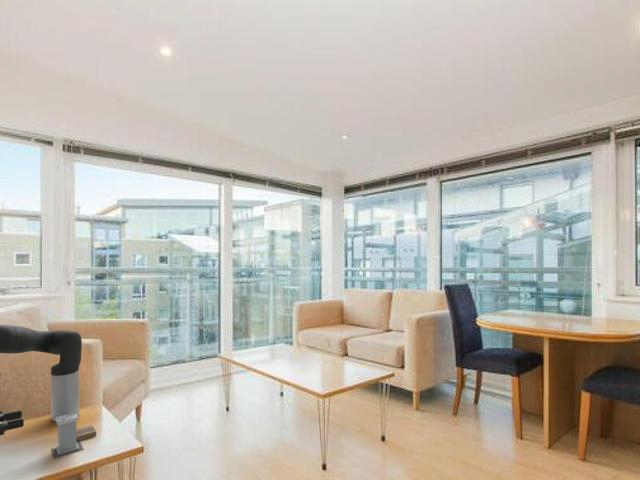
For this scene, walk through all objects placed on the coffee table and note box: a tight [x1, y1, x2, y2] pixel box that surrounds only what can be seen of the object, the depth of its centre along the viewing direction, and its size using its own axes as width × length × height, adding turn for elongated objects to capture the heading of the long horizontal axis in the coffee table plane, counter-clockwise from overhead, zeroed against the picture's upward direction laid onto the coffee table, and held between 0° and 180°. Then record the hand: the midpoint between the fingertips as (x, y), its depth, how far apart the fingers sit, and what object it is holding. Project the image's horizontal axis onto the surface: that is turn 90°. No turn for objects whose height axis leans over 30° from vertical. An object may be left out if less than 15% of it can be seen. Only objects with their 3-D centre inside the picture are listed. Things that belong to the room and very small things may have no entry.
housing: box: [55, 413, 80, 456], centre depth 128 cm, size 6×6×10 cm
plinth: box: [76, 424, 97, 442], centre depth 137 cm, size 7×7×2 cm
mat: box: [50, 440, 85, 460], centre depth 127 cm, size 8×8×1 cm
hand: (22, 418), depth 120 cm, fingers open, 8 cm apart
